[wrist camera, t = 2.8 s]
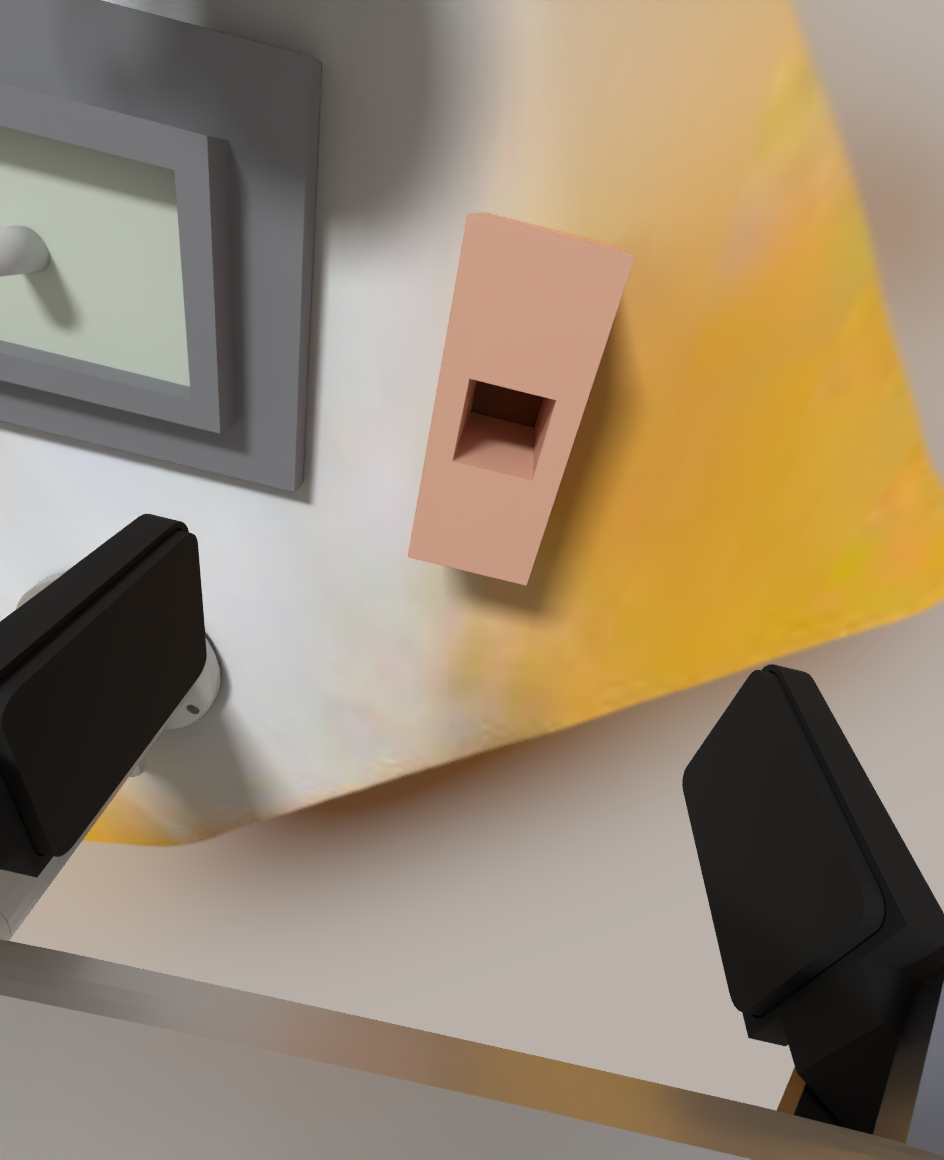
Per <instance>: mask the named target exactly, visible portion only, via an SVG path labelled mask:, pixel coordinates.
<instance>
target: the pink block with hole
mask: <svg viewBox="0 0 944 1160" xmlns="http://www.w3.org/2000/svg"><path fill="white" fill-rule="evenodd" d="M633 260H634V256H632V255H630V254H628V253H627V252H625V251H623V250H621V249H619V248H617V247H615V246H613V245H609V244H605V243H601V242H598V241H594V240H590V239H586V238H582V237H578V236H574V235H570V234H567V233H563V232H559V231H555V230H551V229H547V228H543V227H540V226H536V225H532V224H528V223H524V222H520V221H516V220H512V219H509V218H505V217H501V216H497V215H493V214H489V213H472V214H468V215H467V221H466V226H465V232H464V238H463V244H462V249H461V255H460V261H459V266H458V272H457V278H456V284H455V289H454V295H453V301H452V306H451V312H450V318H449V324H448V329H447V335H446V341H445V347H444V352H443V358H442V364H441V369H440V375H439V381H438V387H437V392H436V398H435V404H434V410H433V415H432V421H431V427H430V432H429V438H428V444H427V450H426V455H425V461H424V467H423V472H422V478H421V484H420V490H419V495H418V501H417V507H416V513H415V518H414V524H413V530H412V535H411V541H410V547H409V553H408V557H409V558H414V559H418V560H422V561H426V562H430V563H434V564H439V565H443V566H447V567H451V568H455V569H459V570H463V571H468V572H472V573H476V574H480V575H484V576H488V577H493V578H497V579H501V580H505V581H509V582H513V583H518V584H522V585H526V586H527V583H528V580H529V577H530V574H531V571H532V567H533V564H534V561H535V558H536V555H537V552H538V549H539V546H540V543H541V540H542V537H543V534H544V531H545V528H546V525H547V522H548V519H549V516H550V513H551V510H552V507H553V504H554V501H555V498H556V495H557V491H558V488H559V485H560V482H561V479H562V476H563V473H564V470H565V467H566V464H567V461H568V458H569V455H570V452H571V449H572V446H573V443H574V440H575V437H576V434H577V431H578V428H579V425H580V422H581V419H582V415H583V412H584V409H585V406H586V403H587V400H588V397H589V394H590V391H591V388H592V385H593V382H594V379H595V376H596V373H597V370H598V367H599V364H600V361H601V358H602V355H603V352H604V349H605V346H606V343H607V339H608V336H609V333H610V330H611V327H612V324H613V321H614V318H615V315H616V312H617V309H618V306H619V303H620V300H621V297H622V294H623V291H624V288H625V285H626V282H627V279H628V276H629V273H630V270H631V267H632V263H633ZM477 381H481V382H485V383H489V384H493V385H497V386H501V387H505V388H509V389H513V390H517V391H521V392H525V393H529V394H533V395H537V396H541V397H543V401H542V404H541V408H540V411H539V415H538V418H537V422H536V426H535V428H533V427H529V426H525V425H521V424H517V423H513V422H509V421H505V420H501V419H497V418H493V417H489V416H485V415H481V414H477V413H473V412H471V408H472V403H473V398H474V394H475V389H476V384H477Z"/></svg>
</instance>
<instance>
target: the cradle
mask: <svg viewBox="0 0 944 1160" xmlns="http://www.w3.org/2000/svg"><path fill="white" fill-rule="evenodd" d="M321 71H322V63H320V62H319V61H317V60H316V59H314V58H313V57H311V56H309V55H306V54H302V53H298V52H294V51H291V50H287V49H283V48H279V47H275V46H272V45H268V44H264V43H260V42H256V41H253V40H249V39H245V38H241V37H237V36H234V35H230V34H226V33H222V32H218V31H215V30H211V29H207V28H203V27H200V26H196V25H192V24H188V23H184V22H181V21H177V20H173V19H169V18H165V17H162V16H158V15H154V14H150V13H146V12H143V11H139V10H135V9H131V8H127V7H124V6H120V5H116V4H112V3H109V2H105V1H101V0H0V421H3V422H7V423H11V424H15V425H19V426H24V427H28V428H32V429H36V430H40V431H44V432H48V433H52V434H57V435H61V436H65V437H69V438H73V439H77V440H81V441H85V442H90V443H94V444H98V445H102V446H106V447H110V448H114V449H119V450H123V451H127V452H131V453H135V454H139V455H143V456H147V457H152V458H156V459H160V460H164V461H168V462H172V463H176V464H180V465H185V466H189V467H193V468H197V469H201V470H205V471H209V472H214V473H218V474H222V475H226V476H230V477H234V478H238V479H242V480H247V481H251V482H255V483H259V484H263V485H267V486H271V487H275V488H280V489H284V490H288V491H292V492H295V491H296V490H297V488H298V487H299V486H300V485H301V484H302V483H303V473H304V451H305V428H306V406H307V384H308V361H309V339H310V317H311V294H312V272H313V250H314V227H315V205H316V183H317V160H318V138H319V116H320V93H321Z"/></svg>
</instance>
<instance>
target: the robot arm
mask: <svg viewBox="0 0 944 1160" xmlns="http://www.w3.org/2000/svg"><path fill="white" fill-rule="evenodd" d="M220 683H221V680H220V668H219V665H218V661H217V658H216V655H215V653H214V651H213V649H212V647H211V646H210V644H209V642H208V640H207V639H206V637H205V626H204V614H203V601H202V589H201V577H200V565H199V552H198V542H197V538H196V536H195V535H194V534H192V533H189V531H188V528H187V526H186V524H184V523H183V522H181V521H176V520H172V519H168V518H164V517H160V516H156V515H152V514H143V515H141V516H139V517H138V518H137V519H135V520H134V521H133V522H131V523H130V524H129V525H127V526H126V527H125V528H123V529H122V530H121V531H119V532H118V533H117V534H115V535H114V536H113V537H111V538H110V539H109V540H108V541H106V542H105V543H104V544H102V545H101V546H100V547H98V548H97V549H96V550H94V551H93V552H92V553H90V554H89V555H88V556H86V557H85V558H84V559H82V560H81V561H80V562H78V563H77V564H76V565H75V566H73V567H72V568H71V569H69V570H68V571H67V572H63V573H59V574H56V575H52V576H50V577H48V578H46V579H44V580H43V581H41V582H39V583H38V584H37V585H35V586H34V587H33V588H32V589H30V590H29V591H28V592H27V593H25V594H24V595H23V597H22V598H21V599H20V601H19V602H18V604H17V608H16V610H15V611H14V612H12V613H11V614H10V615H8V616H7V617H6V618H5V619H3V620H2V621H1V622H0V1160H944V913H943V911H942V909H941V908H940V906H939V904H938V902H937V901H936V899H935V897H934V895H933V893H932V892H931V890H930V888H929V886H928V884H927V883H926V881H925V879H924V877H923V875H922V874H921V872H920V870H919V868H918V866H917V865H916V863H915V861H914V859H913V857H912V856H911V854H910V852H909V850H908V848H907V847H906V845H905V843H904V841H903V840H902V838H901V836H900V834H899V832H898V831H897V829H896V827H895V825H894V823H893V822H892V820H891V818H890V816H889V814H888V813H887V811H886V809H885V807H884V805H883V804H882V802H881V800H880V798H879V796H878V795H877V793H876V791H875V789H874V788H873V786H872V784H871V782H870V781H869V778H868V777H867V775H866V773H865V771H864V770H863V768H862V766H861V764H860V762H859V761H858V759H857V757H856V755H855V753H854V752H853V750H852V748H851V746H850V744H849V743H848V741H847V739H846V737H845V735H844V734H843V732H842V730H841V728H840V726H839V725H838V723H837V721H836V719H835V718H834V716H833V714H832V712H831V711H830V708H829V707H828V705H827V703H826V701H825V700H824V698H823V696H822V694H821V692H820V691H819V689H818V687H817V685H816V683H815V682H814V680H813V678H812V677H811V676H810V675H809V674H807V673H806V672H803V671H799V670H794V669H790V668H786V667H782V666H778V665H767V666H765V667H764V668H763V669H762V670H755V671H753V672H752V673H751V674H750V675H749V677H748V678H747V680H746V681H745V683H744V684H743V686H742V687H741V689H740V690H739V691H738V693H737V694H736V696H735V697H734V699H733V700H732V702H731V703H730V705H729V706H728V707H727V709H726V710H725V712H724V713H723V715H722V716H721V718H720V719H719V721H718V722H717V723H716V725H715V726H714V728H713V729H712V731H711V732H710V734H709V735H708V737H707V738H706V739H705V741H704V742H703V744H702V745H701V747H700V748H699V750H698V751H697V753H696V754H695V755H694V757H693V758H692V760H691V761H690V763H689V764H688V766H687V767H686V769H685V771H684V775H683V784H682V786H683V792H684V796H685V801H686V805H687V810H688V814H689V818H690V822H691V827H692V831H693V835H694V840H695V845H696V848H697V853H698V858H699V862H700V866H701V871H702V875H703V879H704V884H705V888H706V893H707V897H708V901H709V906H710V910H711V914H712V919H713V923H714V927H715V932H716V936H717V941H718V945H719V949H720V954H721V958H722V963H723V967H724V971H725V976H726V980H727V984H728V988H729V993H730V996H731V999H732V1002H733V1004H734V1006H735V1007H736V1008H737V1009H738V1010H739V1011H741V1012H742V1013H743V1017H744V1021H745V1025H746V1030H747V1033H748V1038H752V1039H755V1040H760V1041H764V1042H769V1043H774V1044H778V1045H782V1046H787V1045H788V1044H789V1047H790V1051H791V1054H792V1058H793V1061H794V1065H795V1068H794V1070H793V1072H792V1075H791V1077H790V1080H789V1082H788V1084H787V1087H786V1089H785V1092H784V1095H783V1097H782V1099H781V1101H780V1104H779V1106H778V1109H777V1111H775V1110H770V1109H766V1108H763V1107H759V1106H754V1105H750V1104H746V1103H741V1102H737V1101H732V1100H728V1099H723V1098H719V1097H715V1096H710V1095H706V1094H701V1093H697V1092H693V1091H688V1090H684V1089H680V1088H675V1087H670V1086H666V1085H662V1084H658V1083H653V1082H649V1081H644V1080H640V1079H636V1078H631V1077H627V1076H623V1075H618V1074H613V1073H609V1072H605V1071H601V1070H596V1069H592V1068H587V1067H583V1066H579V1065H574V1064H570V1063H565V1062H561V1061H557V1060H552V1059H548V1058H543V1057H539V1056H535V1055H530V1054H525V1053H521V1052H517V1051H512V1050H508V1049H503V1048H499V1047H494V1046H490V1045H485V1044H481V1043H476V1042H472V1041H467V1040H463V1039H458V1038H454V1037H449V1036H445V1035H440V1034H436V1033H432V1032H427V1031H423V1030H418V1029H413V1028H409V1027H405V1026H400V1025H396V1024H391V1023H386V1022H382V1021H378V1020H373V1019H369V1018H364V1017H359V1016H355V1015H350V1014H346V1013H341V1012H337V1011H332V1010H328V1009H323V1008H319V1007H314V1006H309V1005H305V1004H301V1003H296V1002H292V1001H287V1000H282V999H278V998H274V997H269V996H264V995H260V994H255V993H251V992H246V991H241V990H237V989H232V988H227V987H223V986H218V985H213V984H209V983H204V982H200V981H195V980H191V979H186V978H181V977H177V976H172V975H168V974H163V973H159V972H154V971H149V970H144V969H140V968H135V967H131V966H126V965H122V964H117V963H112V962H108V961H103V960H99V959H94V958H89V957H85V956H80V955H76V954H71V953H66V952H62V951H56V950H51V949H46V948H41V947H36V946H31V945H26V944H21V943H16V942H11V941H9V940H10V938H11V937H12V936H13V934H14V933H15V932H16V930H17V929H18V928H19V926H20V925H21V923H22V922H23V921H24V919H25V918H26V917H27V915H28V914H29V912H30V911H31V910H32V908H33V907H34V906H35V904H36V903H37V902H38V900H39V899H40V898H41V896H42V895H43V893H44V892H45V891H46V889H47V888H48V887H49V885H50V884H51V883H52V881H53V880H54V878H55V877H56V876H57V874H58V873H59V872H60V870H61V869H62V867H63V866H64V865H65V864H66V862H67V861H68V859H69V858H70V857H71V855H72V854H73V853H74V851H75V850H76V848H77V847H78V846H79V844H80V843H81V842H82V840H83V839H84V838H85V836H86V835H87V834H88V832H89V831H90V829H91V828H92V827H93V825H94V824H95V823H96V821H97V820H98V819H99V817H100V816H101V814H102V813H103V812H104V810H105V809H106V808H107V806H108V805H109V804H110V802H111V801H112V799H113V798H114V797H115V795H116V794H117V793H118V791H119V790H120V789H121V787H122V786H123V784H124V783H125V782H126V780H127V779H128V778H129V777H135V776H138V775H140V774H141V773H143V772H144V771H145V768H146V762H145V757H144V756H145V754H146V753H147V752H148V750H149V749H150V748H151V746H152V745H153V744H154V742H155V741H156V739H157V738H158V737H159V735H160V734H161V733H162V731H166V730H172V729H179V728H182V727H185V726H187V725H190V724H193V723H194V722H196V721H197V720H198V719H200V718H201V717H203V715H204V714H205V713H206V712H207V710H208V709H209V708H210V706H211V705H212V703H213V702H214V700H215V698H216V697H217V695H218V692H219V687H220Z"/></svg>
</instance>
